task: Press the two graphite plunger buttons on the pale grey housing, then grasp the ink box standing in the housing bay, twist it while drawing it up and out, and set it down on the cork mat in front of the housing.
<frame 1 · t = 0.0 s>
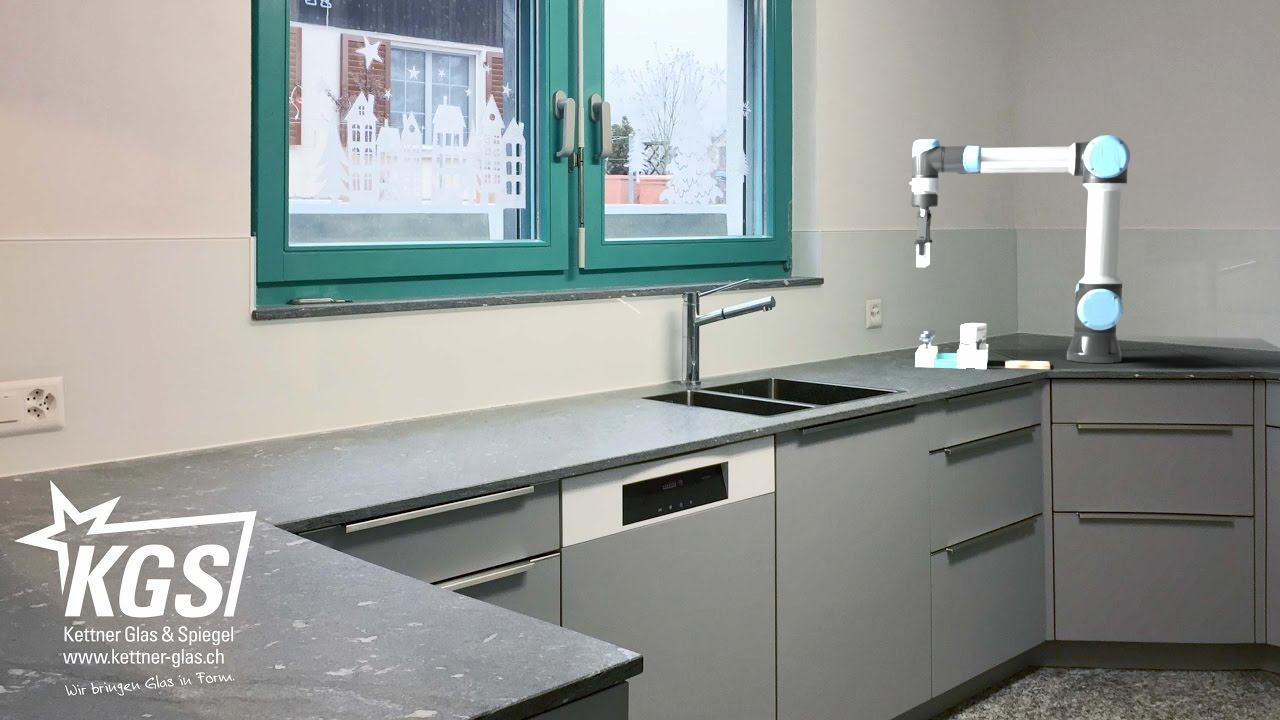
hand: (922, 266, 356), 28 cm above the countertop, fingers open, 13 cm apart
plunger 1: (925, 346, 347), point 5 cm above the countertop, slide at 0.0 cm
housing: (972, 364, 349), on the countertop
plunger 2: (928, 342, 357), point 5 cm above the countertop, slide at 0.0 cm
ink box: (972, 365, 349), on the countertop
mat: (1027, 366, 344), on the countertop
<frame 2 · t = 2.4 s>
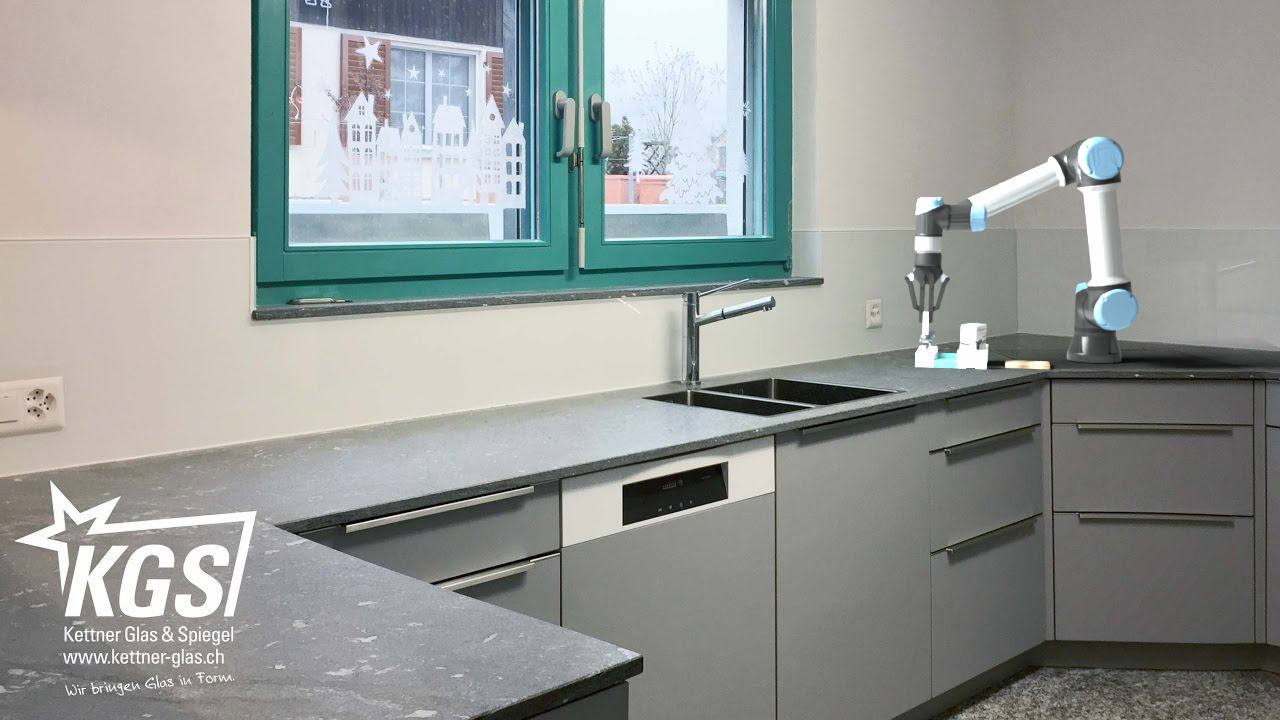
hand: (925, 334, 347), 9 cm above the countertop, fingers closed
plunger 1: (925, 347, 347), point 5 cm above the countertop, slide at 0.3 cm, touching gripper
everything else where it was.
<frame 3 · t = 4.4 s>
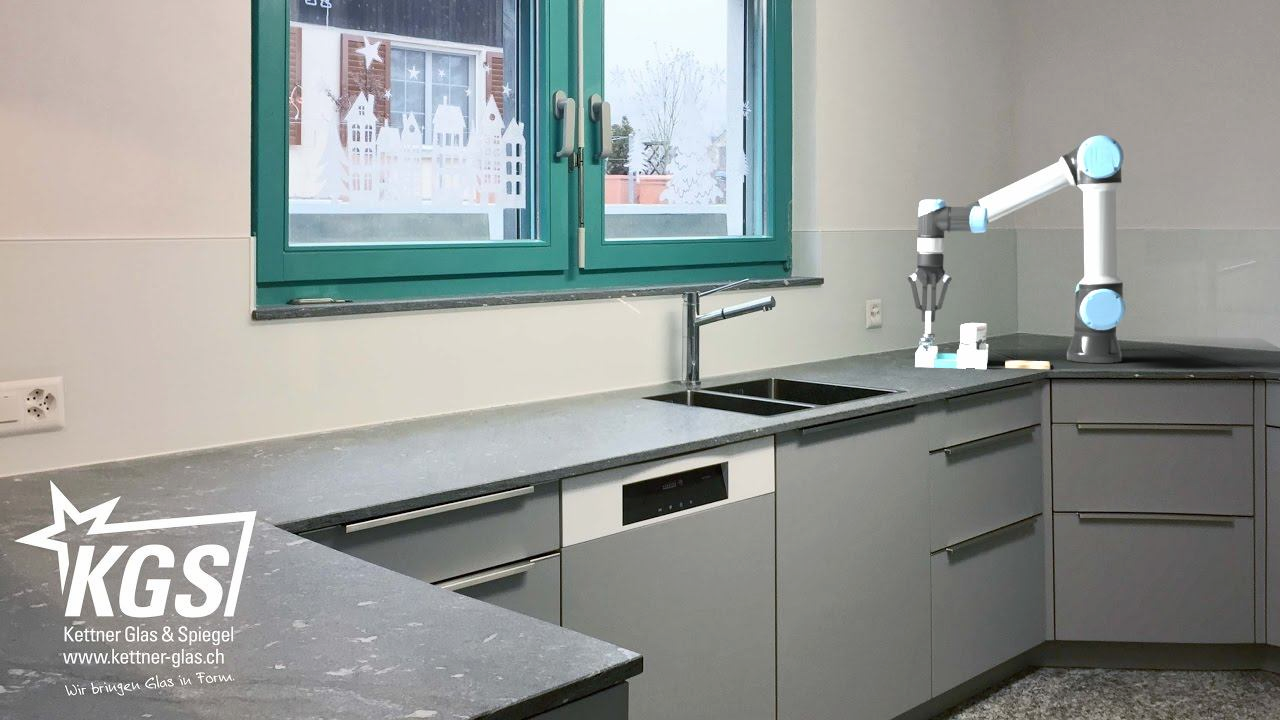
hand: (927, 333, 356), 8 cm above the countertop, fingers closed
plunger 1: (925, 350, 347), point 4 cm above the countertop, slide at 1.1 cm
plunger 2: (928, 345, 357), point 5 cm above the countertop, slide at 0.9 cm, touching gripper
everything else where it was.
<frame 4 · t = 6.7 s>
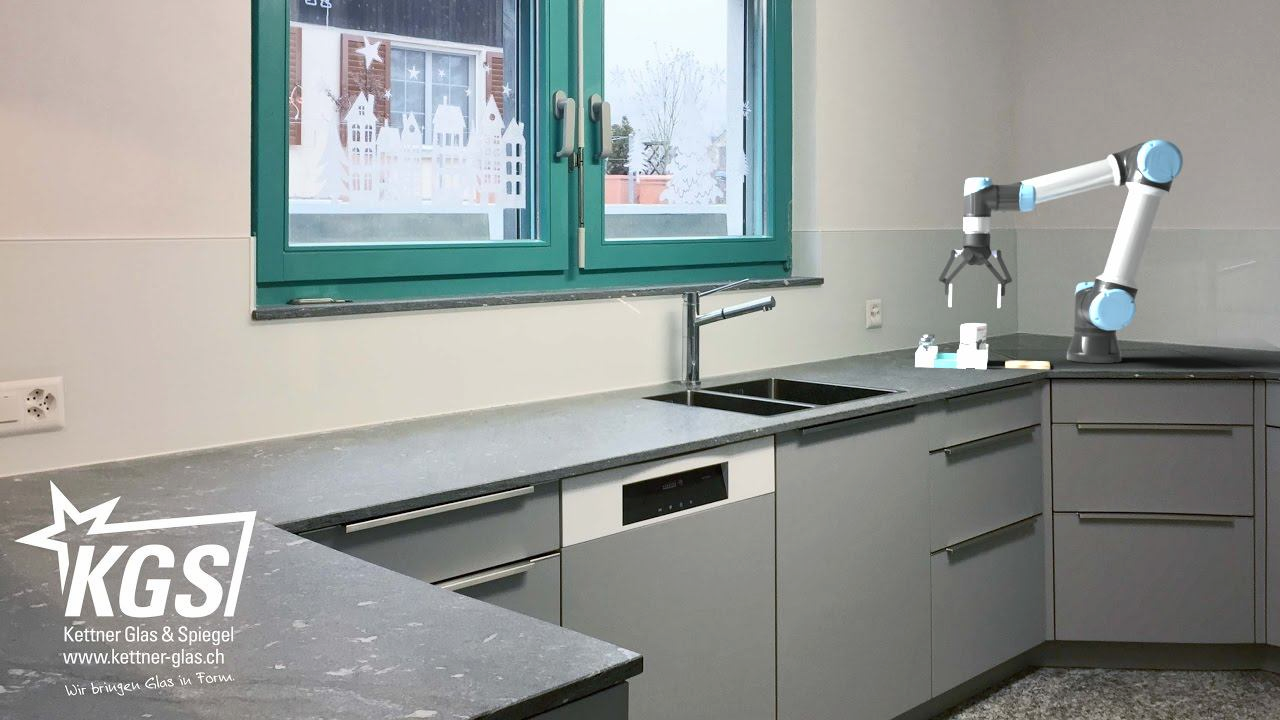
hand: (974, 307, 347), 17 cm above the countertop, fingers open, 13 cm apart
plunger 2: (928, 346, 357), point 4 cm above the countertop, slide at 1.1 cm
everything else where it was.
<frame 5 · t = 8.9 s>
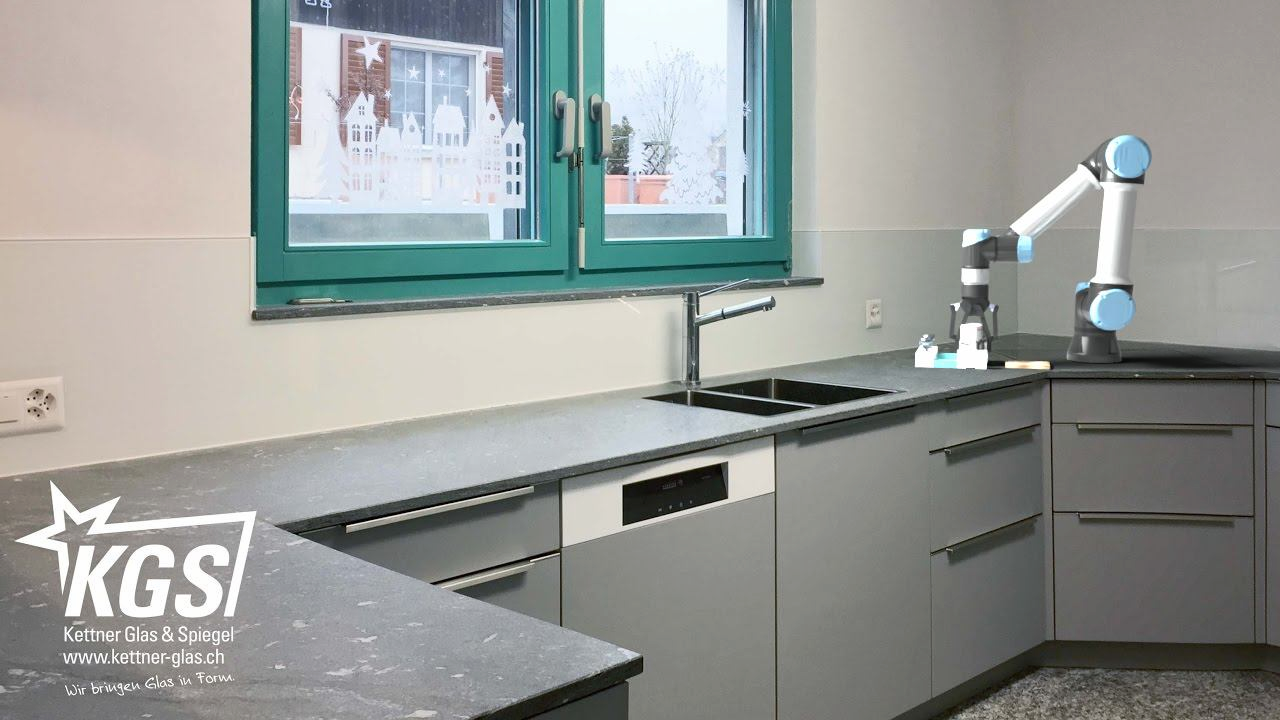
hand: (972, 363, 349), 0 cm above the countertop, fingers closed on ink box, 6 cm apart
ink box: (972, 365, 349), on the countertop, touching gripper
everything else where it was.
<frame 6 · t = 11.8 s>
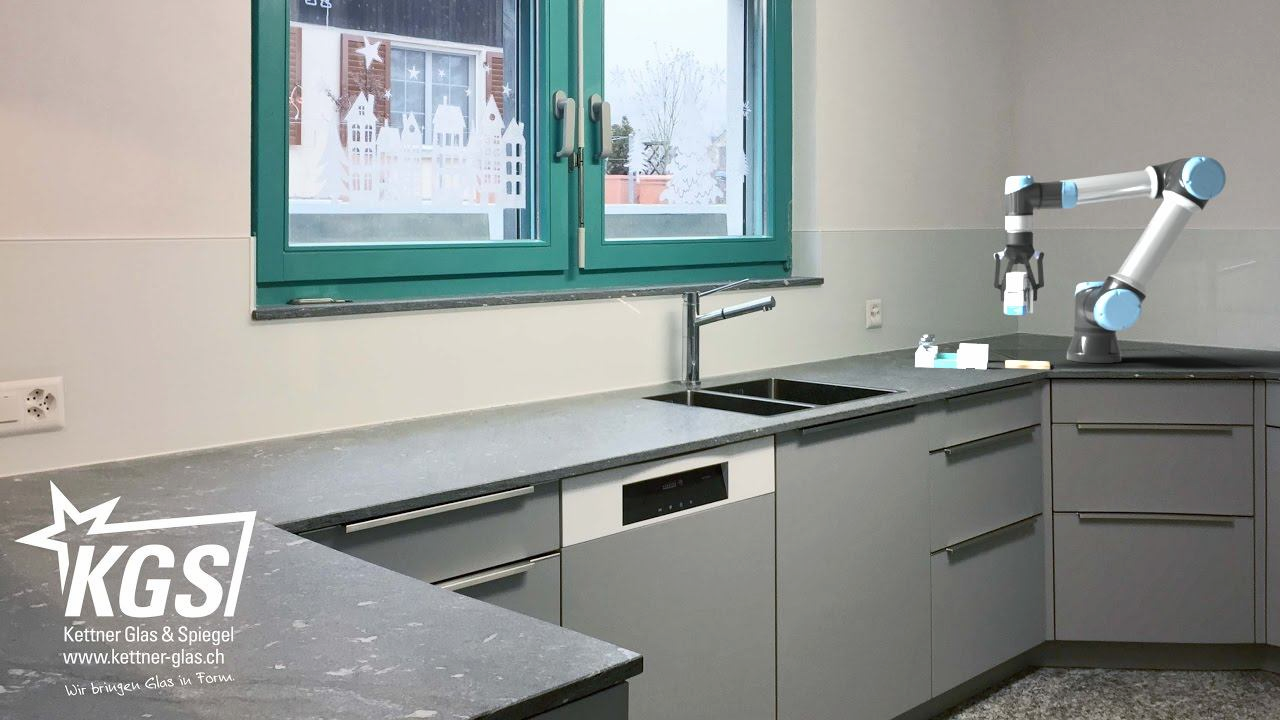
hand: (1018, 312, 344), 15 cm above the countertop, fingers closed on ink box, 6 cm apart
ink box: (1018, 314, 344), point 15 cm above the countertop, touching gripper
everything else where it was.
when the fingers open (3 cm above the countertop, at t = 14.9 s): ink box drops 1 cm, resting on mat.
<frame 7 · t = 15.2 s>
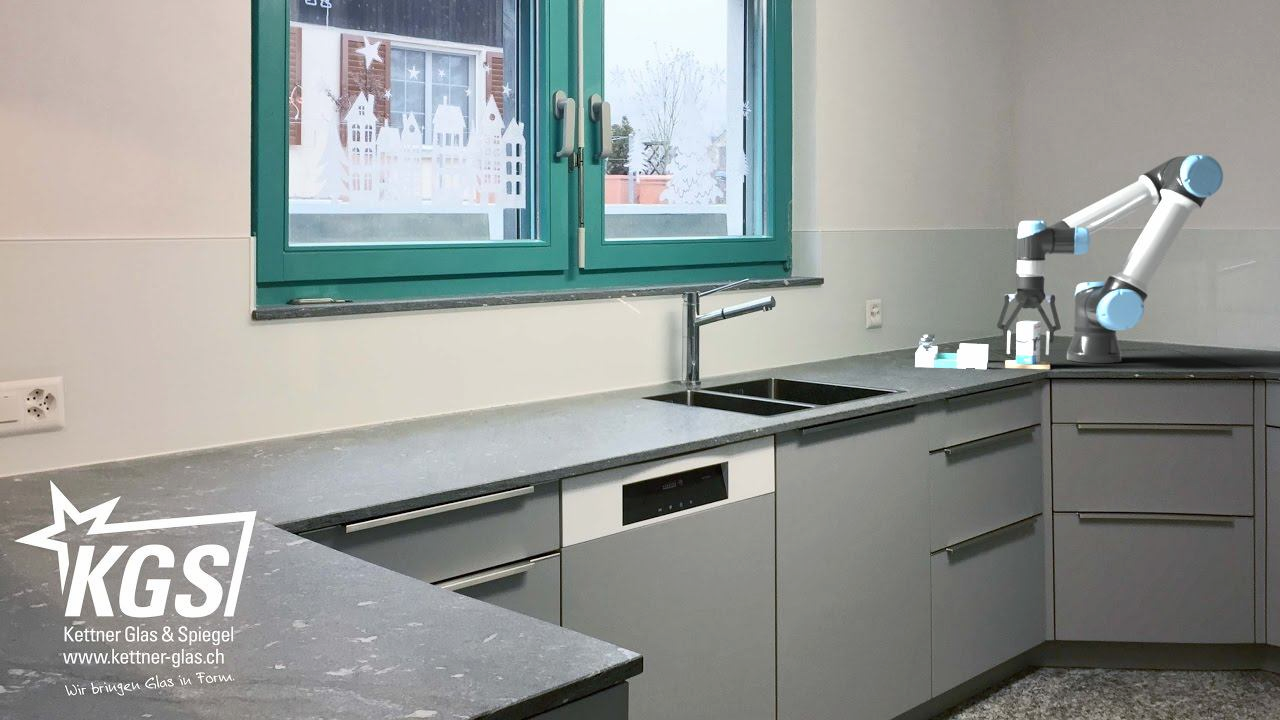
hand: (1027, 353, 344), 4 cm above the countertop, fingers open, 10 cm apart
ink box: (1027, 363, 344), point 1 cm above the countertop, touching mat
everything else where it was.
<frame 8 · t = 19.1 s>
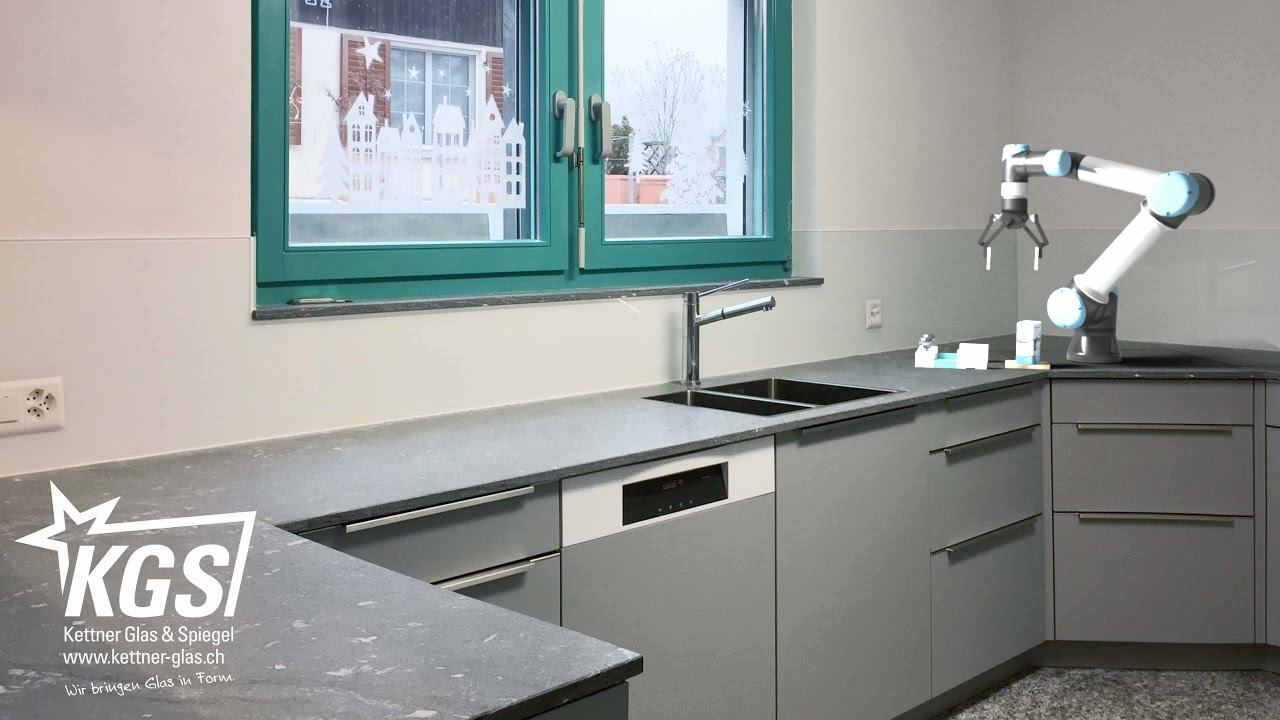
hand: (1012, 269, 360), 27 cm above the countertop, fingers open, 13 cm apart
nothing on the countertop moved.
at the end: ink box inside the target area on the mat (0.2 cm from its centre), point 0.8 cm above the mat's base; ink box tilted 0°; plunger 2 slide at 1.1 cm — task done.
